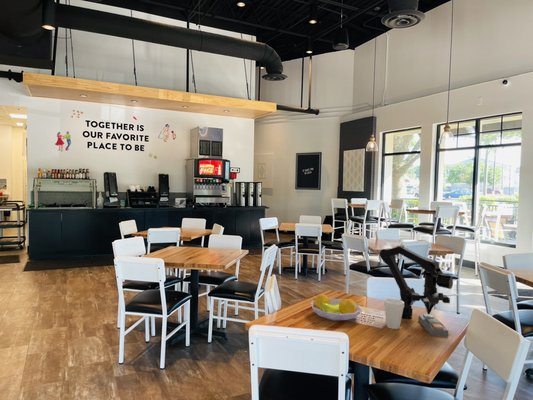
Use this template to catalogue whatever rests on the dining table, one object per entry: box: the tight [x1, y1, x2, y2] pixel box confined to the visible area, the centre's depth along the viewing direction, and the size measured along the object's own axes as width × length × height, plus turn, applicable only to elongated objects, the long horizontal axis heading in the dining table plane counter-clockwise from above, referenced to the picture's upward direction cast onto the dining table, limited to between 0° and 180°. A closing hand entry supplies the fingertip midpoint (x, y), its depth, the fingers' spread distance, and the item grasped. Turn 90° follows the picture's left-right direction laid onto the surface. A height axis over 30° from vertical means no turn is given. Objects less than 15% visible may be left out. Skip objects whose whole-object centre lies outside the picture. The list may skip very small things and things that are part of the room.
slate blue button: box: [423, 313, 434, 319], centre depth 200 cm, size 4×4×2 cm
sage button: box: [428, 319, 438, 324], centre depth 193 cm, size 4×4×2 cm
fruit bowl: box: [311, 294, 362, 322], centre depth 203 cm, size 28×27×11 cm
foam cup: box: [383, 297, 404, 330], centre depth 193 cm, size 10×9×13 cm
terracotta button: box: [432, 324, 443, 330], centre depth 186 cm, size 4×4×2 cm
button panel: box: [418, 314, 449, 337], centre depth 193 cm, size 8×20×3 cm, turn 174°
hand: (428, 313), depth 200 cm, fingers closed
